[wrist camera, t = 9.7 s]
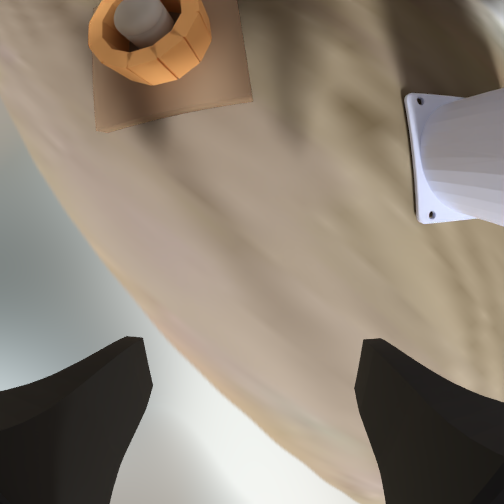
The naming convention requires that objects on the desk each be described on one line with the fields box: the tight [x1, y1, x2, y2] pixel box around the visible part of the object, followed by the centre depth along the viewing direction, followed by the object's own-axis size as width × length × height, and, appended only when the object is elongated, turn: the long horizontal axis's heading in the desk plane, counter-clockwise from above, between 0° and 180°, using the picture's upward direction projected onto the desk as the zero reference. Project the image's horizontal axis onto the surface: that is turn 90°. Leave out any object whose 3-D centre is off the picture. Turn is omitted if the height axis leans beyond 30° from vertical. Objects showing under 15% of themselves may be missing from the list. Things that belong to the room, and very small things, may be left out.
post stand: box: [92, 0, 253, 133], centre depth 12 cm, size 9×9×6 cm
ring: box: [88, 0, 212, 86], centre depth 12 cm, size 6×6×4 cm
